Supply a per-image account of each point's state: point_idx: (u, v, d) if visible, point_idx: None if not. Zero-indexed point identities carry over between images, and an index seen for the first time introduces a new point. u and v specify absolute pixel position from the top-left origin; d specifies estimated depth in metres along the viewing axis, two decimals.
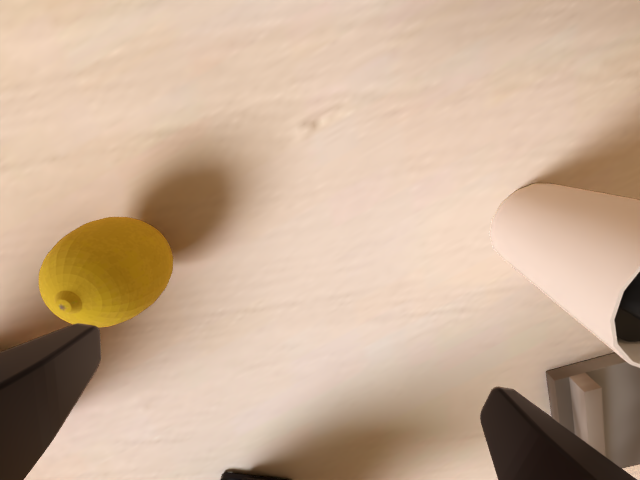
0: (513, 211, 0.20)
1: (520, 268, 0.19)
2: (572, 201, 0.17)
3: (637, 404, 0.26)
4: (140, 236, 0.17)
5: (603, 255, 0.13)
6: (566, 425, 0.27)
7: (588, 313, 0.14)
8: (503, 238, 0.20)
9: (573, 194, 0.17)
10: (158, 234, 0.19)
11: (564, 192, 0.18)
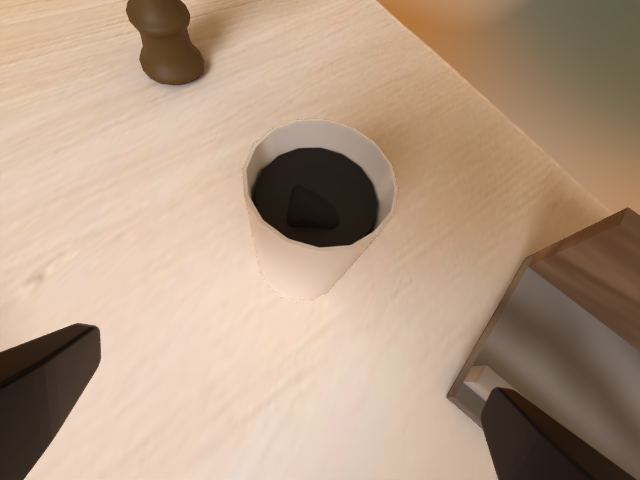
0: None
1: (279, 282, 0.18)
2: None
3: (559, 370, 0.21)
4: None
5: None
6: None
7: (271, 242, 0.13)
8: (264, 275, 0.20)
9: None
10: None
11: None
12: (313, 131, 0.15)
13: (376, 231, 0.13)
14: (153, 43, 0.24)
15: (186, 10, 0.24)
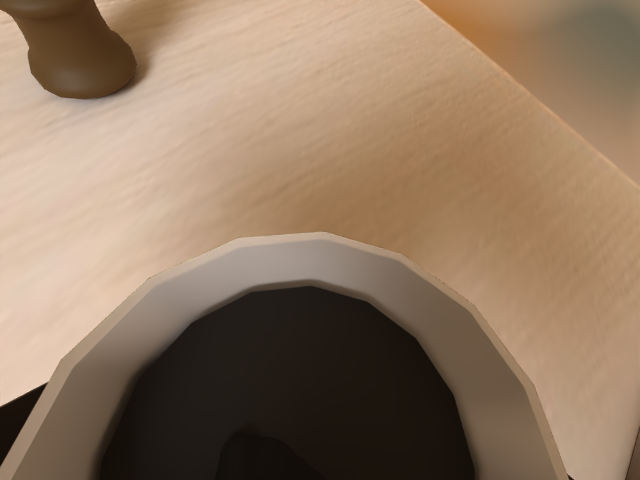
0: None
1: None
2: None
3: None
4: None
5: None
6: None
7: None
8: None
9: None
10: None
11: None
12: (289, 258, 0.05)
13: None
14: (32, 32, 0.14)
15: None
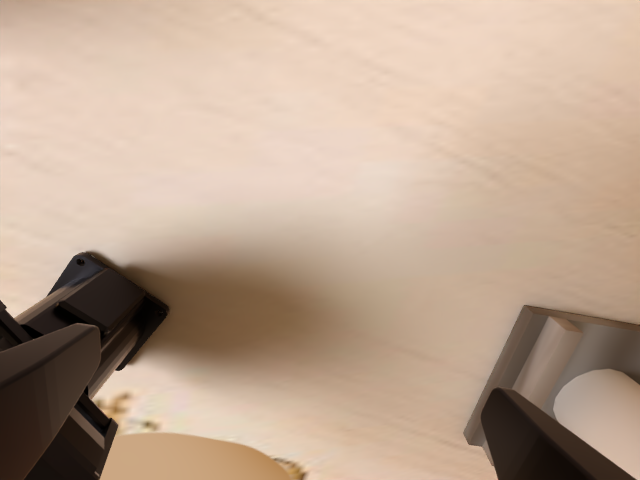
0: (627, 386, 0.21)
1: (604, 426, 0.20)
2: None
3: None
4: None
5: None
6: (510, 375, 0.23)
7: None
8: (601, 393, 0.21)
9: None
10: None
11: None
12: None
13: None
14: None
15: None
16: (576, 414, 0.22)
